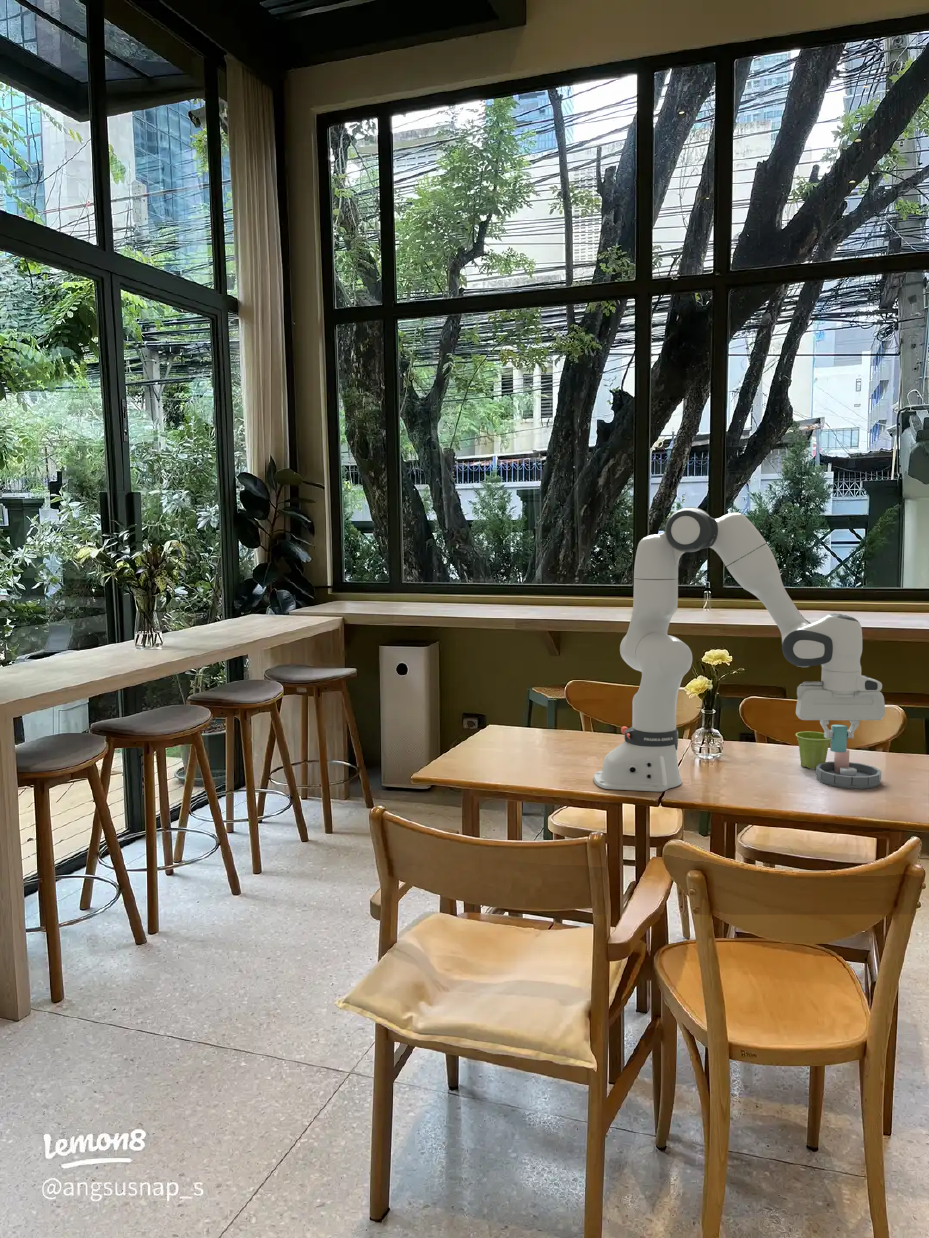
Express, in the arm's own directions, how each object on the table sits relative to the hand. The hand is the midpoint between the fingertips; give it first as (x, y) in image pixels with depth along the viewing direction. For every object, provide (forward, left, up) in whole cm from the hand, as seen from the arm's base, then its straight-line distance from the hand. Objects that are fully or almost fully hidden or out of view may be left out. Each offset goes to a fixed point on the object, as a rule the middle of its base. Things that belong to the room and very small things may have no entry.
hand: (838, 737), depth 220 cm
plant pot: (+4, +28, -15) cm, 32 cm away
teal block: (0, 0, -3) cm, 3 cm away
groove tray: (+8, +14, -15) cm, 22 cm away
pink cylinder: (+8, +18, -14) cm, 24 cm away
